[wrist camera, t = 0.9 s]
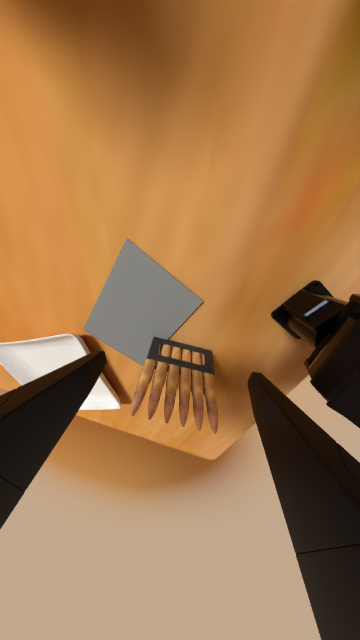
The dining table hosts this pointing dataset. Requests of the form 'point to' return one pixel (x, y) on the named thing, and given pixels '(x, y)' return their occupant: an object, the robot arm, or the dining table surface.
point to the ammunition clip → (193, 376)
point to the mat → (139, 304)
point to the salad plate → (54, 365)
